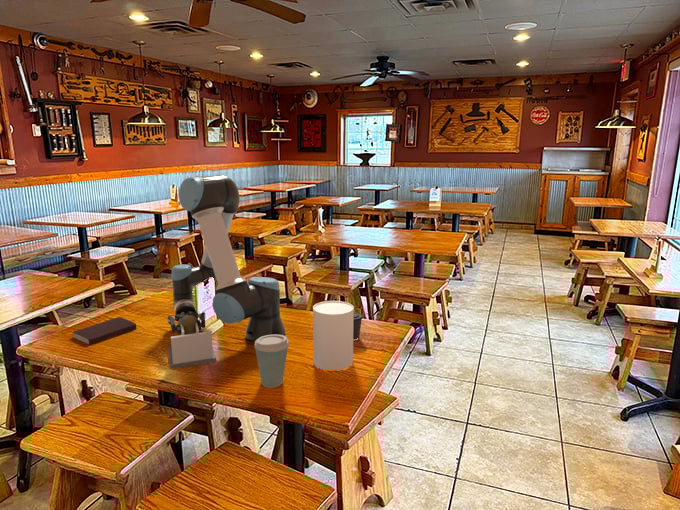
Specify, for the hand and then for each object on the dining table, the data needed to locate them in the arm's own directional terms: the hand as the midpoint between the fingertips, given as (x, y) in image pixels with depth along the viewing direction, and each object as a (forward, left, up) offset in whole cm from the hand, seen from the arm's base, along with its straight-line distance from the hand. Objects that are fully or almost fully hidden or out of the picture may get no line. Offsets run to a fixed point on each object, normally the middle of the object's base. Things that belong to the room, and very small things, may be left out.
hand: (190, 334), depth 156 cm
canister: (-48, -2, -10) cm, 50 cm away
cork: (+2, -5, -7) cm, 9 cm away
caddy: (+2, -5, -10) cm, 11 cm away
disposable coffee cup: (-30, +13, -10) cm, 35 cm away
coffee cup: (-54, -23, -10) cm, 60 cm away
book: (+43, -22, -11) cm, 50 cm away
